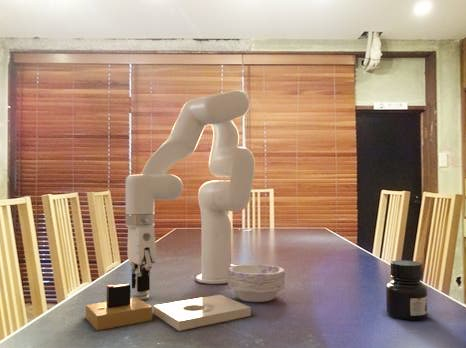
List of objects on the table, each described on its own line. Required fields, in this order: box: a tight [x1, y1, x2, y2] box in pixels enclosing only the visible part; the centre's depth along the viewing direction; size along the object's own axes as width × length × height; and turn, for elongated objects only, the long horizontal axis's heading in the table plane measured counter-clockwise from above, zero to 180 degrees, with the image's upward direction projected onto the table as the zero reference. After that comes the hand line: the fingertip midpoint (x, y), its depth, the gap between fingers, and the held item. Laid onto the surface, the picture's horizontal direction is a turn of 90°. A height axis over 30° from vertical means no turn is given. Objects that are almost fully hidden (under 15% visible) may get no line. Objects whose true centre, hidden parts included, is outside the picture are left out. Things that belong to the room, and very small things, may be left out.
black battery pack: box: [106, 283, 131, 308], centre depth 97 cm, size 5×2×5 cm, turn 123°
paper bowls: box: [227, 263, 286, 303], centre depth 114 cm, size 15×15×8 cm
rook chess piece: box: [131, 268, 150, 301], centre depth 114 cm, size 4×4×8 cm
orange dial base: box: [85, 297, 153, 331], centre depth 97 cm, size 12×10×3 cm
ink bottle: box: [385, 259, 428, 321], centre depth 99 cm, size 10×9×12 cm
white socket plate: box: [153, 294, 251, 332], centre depth 100 cm, size 18×14×2 cm
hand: (140, 288), depth 114 cm, fingers closed on rook chess piece, 3 cm apart
